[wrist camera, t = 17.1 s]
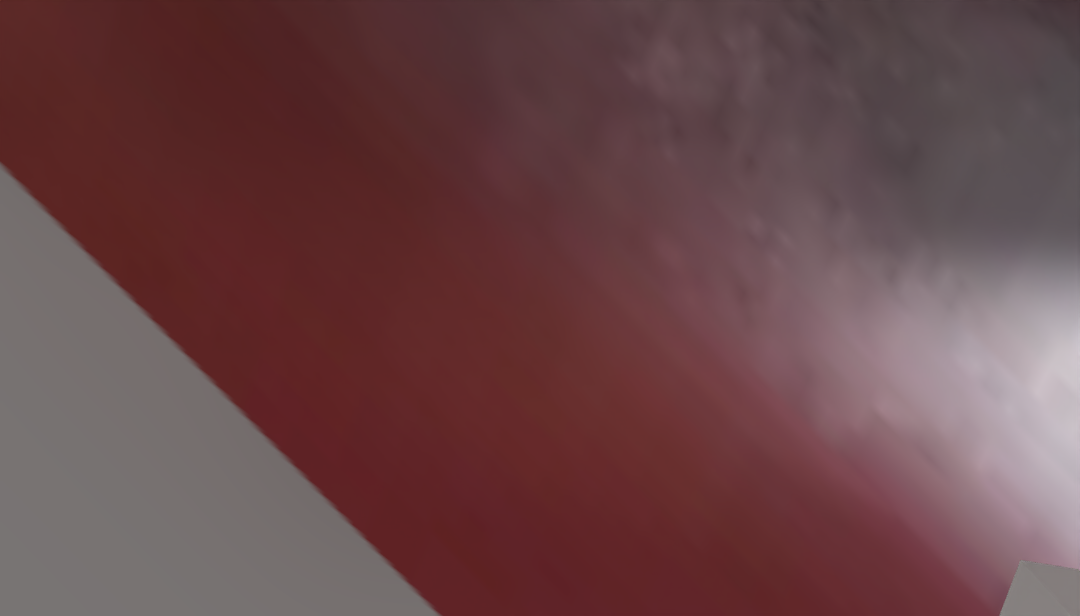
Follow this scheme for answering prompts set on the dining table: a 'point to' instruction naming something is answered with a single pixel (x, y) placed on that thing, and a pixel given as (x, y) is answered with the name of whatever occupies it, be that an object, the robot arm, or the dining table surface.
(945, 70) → the dining table surface
